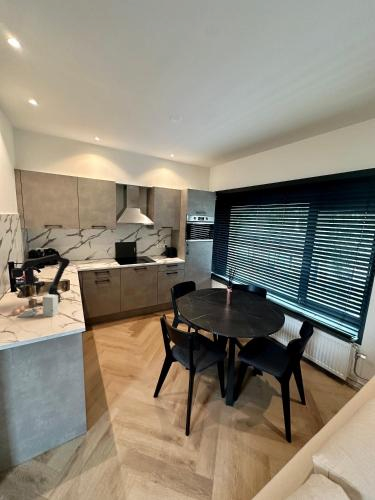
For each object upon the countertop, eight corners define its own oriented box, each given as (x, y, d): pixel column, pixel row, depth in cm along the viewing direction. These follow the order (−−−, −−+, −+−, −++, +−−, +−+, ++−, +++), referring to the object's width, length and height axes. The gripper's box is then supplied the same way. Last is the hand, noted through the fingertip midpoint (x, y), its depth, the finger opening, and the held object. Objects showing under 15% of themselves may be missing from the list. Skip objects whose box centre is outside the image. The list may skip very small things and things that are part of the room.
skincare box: (42, 316, 152) (41, 296, 150) (48, 312, 158) (47, 293, 156) (53, 317, 151) (52, 297, 149) (59, 313, 157) (58, 294, 155)
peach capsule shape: (21, 313, 155) (21, 308, 155) (17, 315, 151) (17, 310, 151) (15, 313, 155) (15, 308, 154) (11, 316, 151) (11, 310, 150)
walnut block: (37, 305, 169) (36, 298, 168) (34, 307, 165) (33, 300, 164) (32, 306, 169) (31, 298, 168) (28, 308, 165) (28, 300, 164)
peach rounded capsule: (25, 310, 160) (25, 305, 160) (22, 312, 156) (22, 307, 156) (20, 310, 160) (19, 305, 159) (16, 313, 156) (16, 307, 155)
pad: (38, 311, 159) (38, 310, 158) (30, 317, 150) (30, 316, 150) (25, 312, 157) (25, 311, 157) (17, 317, 149) (17, 316, 149)
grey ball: (38, 309, 162) (37, 306, 161) (35, 311, 159) (35, 307, 158) (33, 310, 161) (33, 306, 161) (31, 311, 158) (31, 308, 158)
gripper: (47, 272, 170) (49, 290, 173) (22, 273, 167) (24, 291, 170) (40, 276, 160) (42, 295, 162) (13, 277, 157) (15, 296, 159)
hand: (31, 294), depth 164 cm, fingers open, 9 cm apart
